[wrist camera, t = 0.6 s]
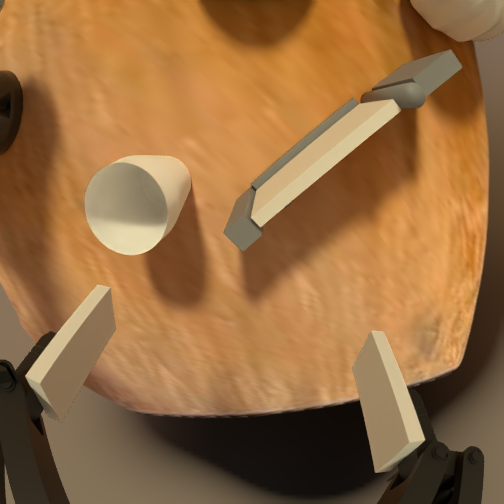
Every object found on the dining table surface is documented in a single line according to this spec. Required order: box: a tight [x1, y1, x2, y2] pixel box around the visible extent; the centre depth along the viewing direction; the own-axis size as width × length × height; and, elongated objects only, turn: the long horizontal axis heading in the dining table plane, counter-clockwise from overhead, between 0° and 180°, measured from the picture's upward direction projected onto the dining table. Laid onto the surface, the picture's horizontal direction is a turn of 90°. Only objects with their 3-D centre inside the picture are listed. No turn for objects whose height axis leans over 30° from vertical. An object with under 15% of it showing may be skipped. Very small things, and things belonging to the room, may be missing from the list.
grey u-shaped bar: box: [223, 49, 463, 252], centre depth 26 cm, size 3×28×12 cm, turn 133°
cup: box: [84, 155, 191, 255], centre depth 30 cm, size 9×9×12 cm
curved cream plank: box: [251, 99, 401, 227], centre depth 27 cm, size 16×2×10 cm, turn 133°
